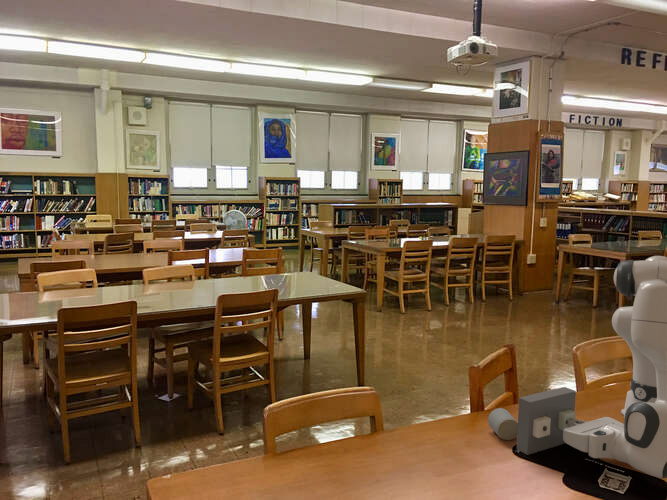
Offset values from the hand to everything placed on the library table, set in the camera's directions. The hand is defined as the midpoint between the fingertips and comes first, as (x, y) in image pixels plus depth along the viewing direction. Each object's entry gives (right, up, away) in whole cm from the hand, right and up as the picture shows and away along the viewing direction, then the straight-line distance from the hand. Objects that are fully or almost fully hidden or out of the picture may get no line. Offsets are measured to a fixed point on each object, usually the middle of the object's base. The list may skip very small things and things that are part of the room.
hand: (570, 421), depth 157 cm
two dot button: (-1, -2, +3) cm, 4 cm away
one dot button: (-11, -3, -3) cm, 12 cm away
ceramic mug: (-16, -7, +8) cm, 20 cm away
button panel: (-7, -8, +2) cm, 11 cm away
